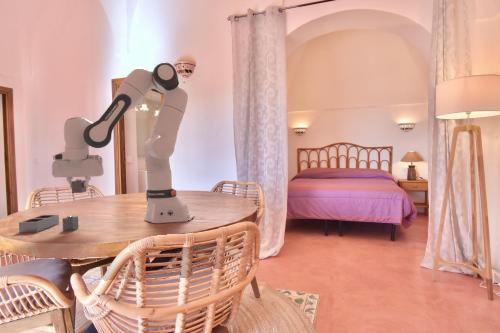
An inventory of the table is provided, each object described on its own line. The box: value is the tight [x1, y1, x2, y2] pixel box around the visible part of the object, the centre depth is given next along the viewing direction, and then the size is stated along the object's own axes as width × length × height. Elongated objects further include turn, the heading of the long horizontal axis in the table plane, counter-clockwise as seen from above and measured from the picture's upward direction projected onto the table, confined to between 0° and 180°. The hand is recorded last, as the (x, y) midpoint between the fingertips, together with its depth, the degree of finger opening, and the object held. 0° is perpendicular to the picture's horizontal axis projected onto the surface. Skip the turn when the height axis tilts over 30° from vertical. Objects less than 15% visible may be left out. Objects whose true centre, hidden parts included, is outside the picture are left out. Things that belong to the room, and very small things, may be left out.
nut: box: [71, 178, 87, 194], centre depth 126 cm, size 4×4×6 cm
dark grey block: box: [61, 215, 79, 232], centre depth 119 cm, size 4×4×6 cm
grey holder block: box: [18, 214, 60, 234], centre depth 122 cm, size 14×7×4 cm, turn 2°
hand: (79, 187), depth 126 cm, fingers closed on nut, 4 cm apart
